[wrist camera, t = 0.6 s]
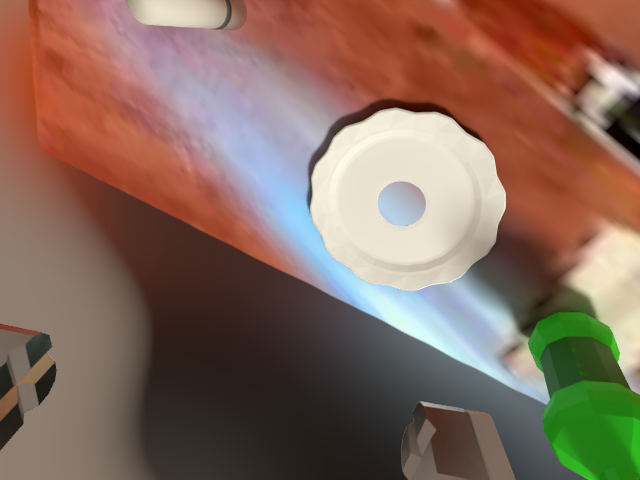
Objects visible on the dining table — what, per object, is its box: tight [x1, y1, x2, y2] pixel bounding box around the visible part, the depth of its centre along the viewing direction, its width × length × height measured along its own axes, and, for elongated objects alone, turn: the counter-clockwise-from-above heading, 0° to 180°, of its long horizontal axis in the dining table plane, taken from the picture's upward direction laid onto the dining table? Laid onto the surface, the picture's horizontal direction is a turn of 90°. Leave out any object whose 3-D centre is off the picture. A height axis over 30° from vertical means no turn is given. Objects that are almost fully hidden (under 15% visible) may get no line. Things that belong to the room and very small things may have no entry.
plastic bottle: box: [528, 312, 640, 480], centre depth 43 cm, size 10×10×25 cm
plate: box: [310, 108, 506, 290], centre depth 52 cm, size 25×25×2 cm
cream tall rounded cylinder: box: [126, 0, 247, 30], centre depth 42 cm, size 4×4×16 cm
